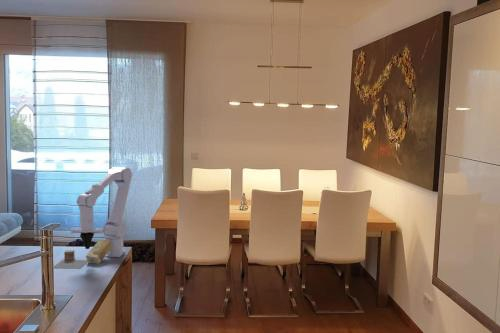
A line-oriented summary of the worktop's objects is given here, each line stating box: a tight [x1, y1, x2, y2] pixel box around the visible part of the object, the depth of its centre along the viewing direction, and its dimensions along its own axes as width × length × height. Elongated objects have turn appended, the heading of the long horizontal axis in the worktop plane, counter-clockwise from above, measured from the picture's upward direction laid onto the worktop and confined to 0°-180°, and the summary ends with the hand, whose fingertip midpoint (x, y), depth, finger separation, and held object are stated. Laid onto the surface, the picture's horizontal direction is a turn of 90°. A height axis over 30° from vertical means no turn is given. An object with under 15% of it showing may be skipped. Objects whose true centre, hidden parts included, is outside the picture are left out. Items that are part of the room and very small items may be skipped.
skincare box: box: [85, 238, 112, 265], centre depth 228 cm, size 6×4×12 cm
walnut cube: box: [63, 249, 75, 261], centre depth 230 cm, size 4×4×4 cm
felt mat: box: [53, 259, 88, 270], centre depth 223 cm, size 12×13×1 cm
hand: (87, 248), depth 222 cm, fingers closed
